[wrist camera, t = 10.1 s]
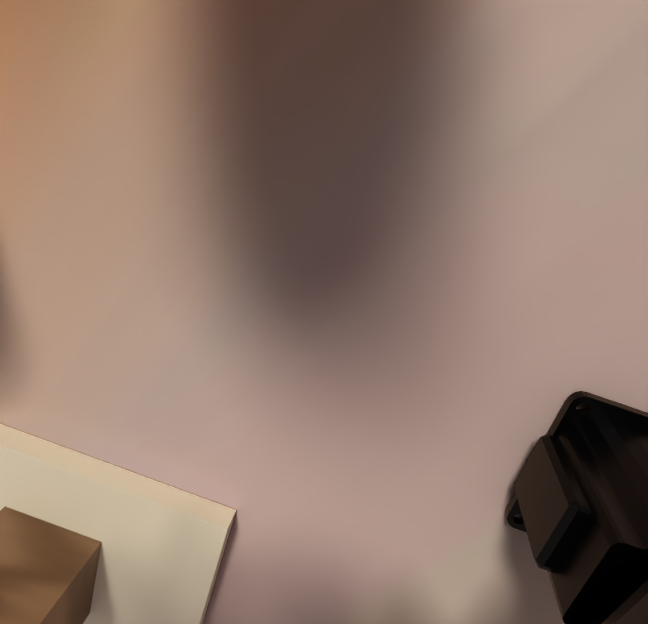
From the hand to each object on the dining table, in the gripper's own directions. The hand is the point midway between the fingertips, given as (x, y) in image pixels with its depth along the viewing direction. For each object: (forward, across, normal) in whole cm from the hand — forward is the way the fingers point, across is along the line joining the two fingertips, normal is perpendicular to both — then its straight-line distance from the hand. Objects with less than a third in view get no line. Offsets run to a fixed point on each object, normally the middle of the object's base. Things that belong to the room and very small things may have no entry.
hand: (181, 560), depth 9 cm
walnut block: (+11, +10, +16) cm, 21 cm away
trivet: (+12, +10, +16) cm, 22 cm away
